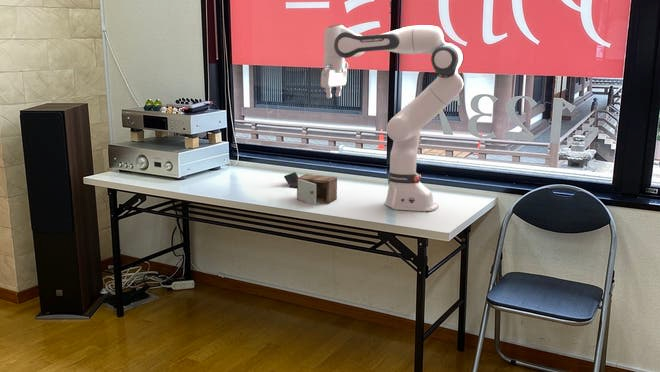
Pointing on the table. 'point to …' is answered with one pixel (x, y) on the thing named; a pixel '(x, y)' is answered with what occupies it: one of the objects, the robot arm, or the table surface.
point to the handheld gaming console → (292, 179)
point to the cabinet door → (307, 191)
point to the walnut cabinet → (322, 187)
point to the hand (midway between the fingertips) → (333, 97)
